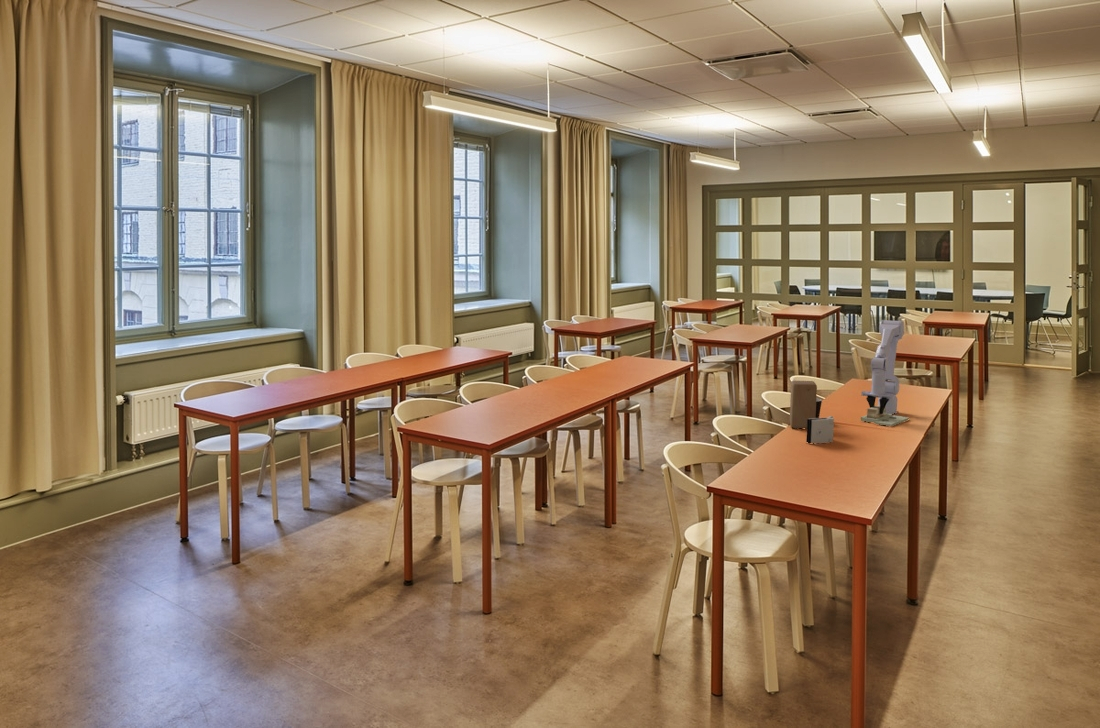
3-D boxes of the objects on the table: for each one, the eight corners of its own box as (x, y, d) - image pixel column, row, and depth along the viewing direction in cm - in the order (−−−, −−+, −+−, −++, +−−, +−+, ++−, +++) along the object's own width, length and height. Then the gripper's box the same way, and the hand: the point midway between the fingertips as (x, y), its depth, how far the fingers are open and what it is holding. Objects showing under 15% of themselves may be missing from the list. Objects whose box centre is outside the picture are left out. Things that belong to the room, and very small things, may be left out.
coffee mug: (823, 423, 367) (824, 401, 366) (804, 423, 368) (805, 401, 366) (815, 417, 379) (816, 396, 378) (796, 417, 379) (797, 396, 378)
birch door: (877, 417, 379) (878, 404, 378) (885, 418, 377) (886, 406, 376) (866, 421, 371) (867, 408, 370) (874, 422, 368) (875, 409, 367)
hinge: (830, 439, 337) (831, 415, 336) (840, 442, 333) (841, 418, 331) (804, 443, 331) (805, 418, 330) (813, 446, 327) (815, 421, 325)
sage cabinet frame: (877, 415, 384) (877, 411, 383) (909, 420, 373) (909, 415, 373) (858, 422, 370) (859, 417, 369) (890, 427, 359) (891, 422, 359)
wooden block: (815, 430, 354) (817, 384, 351) (791, 429, 356) (793, 383, 353) (812, 425, 364) (814, 380, 361) (789, 424, 366) (791, 380, 363)
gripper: (859, 382, 374) (857, 412, 376) (890, 386, 364) (889, 416, 366) (865, 381, 379) (864, 409, 381) (897, 384, 369) (895, 414, 371)
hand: (876, 413), depth 373 cm, fingers closed on birch door, 3 cm apart
